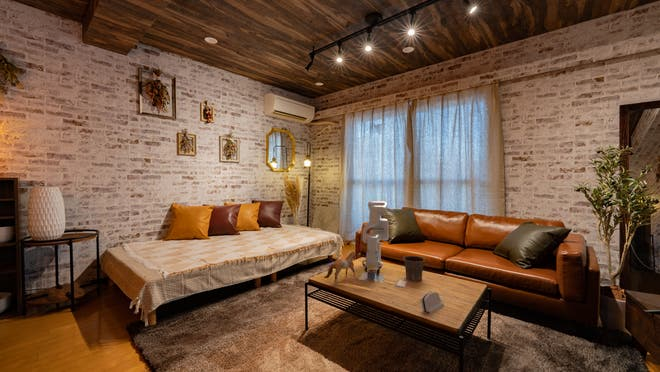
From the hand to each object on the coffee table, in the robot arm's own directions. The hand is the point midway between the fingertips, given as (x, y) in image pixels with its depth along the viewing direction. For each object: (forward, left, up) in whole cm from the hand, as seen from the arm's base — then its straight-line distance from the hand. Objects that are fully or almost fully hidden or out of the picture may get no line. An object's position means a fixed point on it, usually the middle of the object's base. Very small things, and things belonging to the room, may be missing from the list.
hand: (372, 273), depth 216 cm
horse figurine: (+13, -22, -5) cm, 26 cm away
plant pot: (-15, +30, -5) cm, 34 cm away
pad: (+1, +21, -5) cm, 22 cm away
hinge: (+30, +47, -5) cm, 56 cm away
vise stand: (0, 0, -5) cm, 5 cm away
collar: (0, 0, -4) cm, 4 cm away
